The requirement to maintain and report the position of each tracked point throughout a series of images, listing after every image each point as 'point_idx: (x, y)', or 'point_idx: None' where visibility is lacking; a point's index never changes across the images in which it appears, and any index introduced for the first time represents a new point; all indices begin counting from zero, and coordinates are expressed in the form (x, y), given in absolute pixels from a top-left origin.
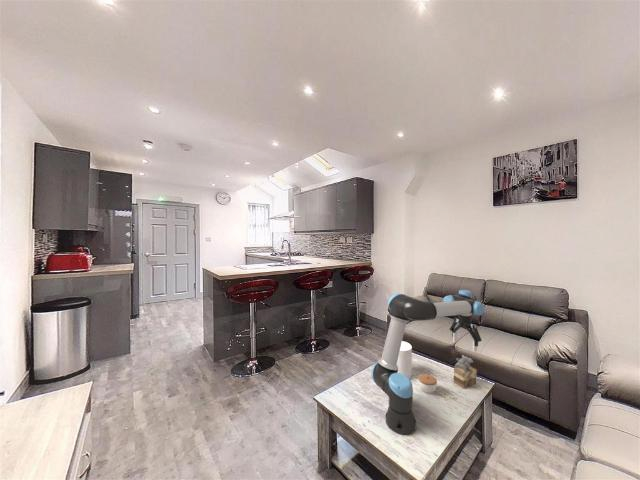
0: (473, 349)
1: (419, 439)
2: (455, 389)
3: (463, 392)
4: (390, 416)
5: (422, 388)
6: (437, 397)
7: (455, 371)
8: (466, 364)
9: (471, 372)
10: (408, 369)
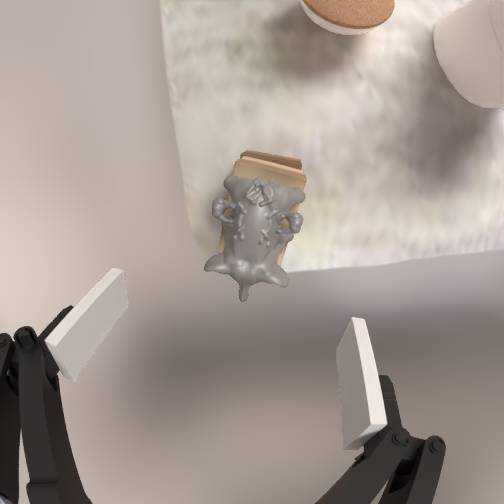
0: (108, 279)
1: None
2: (266, 112)
3: (233, 121)
4: None
5: None
6: (281, 3)
7: (294, 173)
8: (215, 199)
9: None
10: (455, 27)
